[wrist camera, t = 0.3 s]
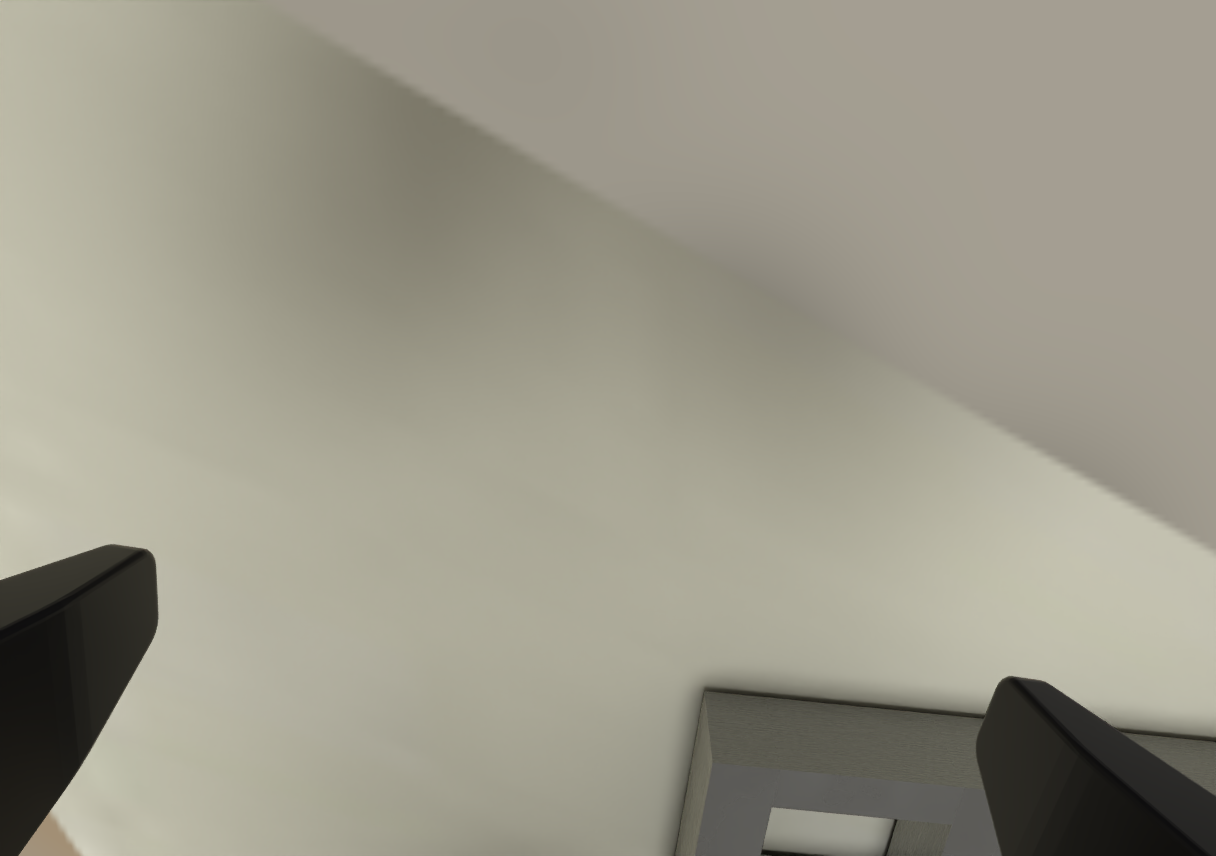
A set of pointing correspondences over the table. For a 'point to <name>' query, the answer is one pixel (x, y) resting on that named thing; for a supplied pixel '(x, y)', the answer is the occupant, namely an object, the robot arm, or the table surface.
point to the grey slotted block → (855, 774)
